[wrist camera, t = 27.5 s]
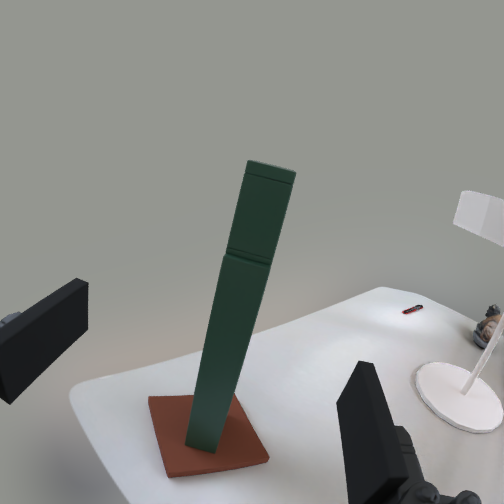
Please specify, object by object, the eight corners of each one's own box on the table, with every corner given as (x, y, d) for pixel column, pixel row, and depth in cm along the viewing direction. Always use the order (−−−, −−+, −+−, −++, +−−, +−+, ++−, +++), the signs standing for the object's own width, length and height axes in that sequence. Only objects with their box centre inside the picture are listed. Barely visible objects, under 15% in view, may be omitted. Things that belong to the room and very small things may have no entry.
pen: (399, 312, 74) (400, 310, 74) (419, 305, 83) (419, 303, 82) (405, 315, 72) (406, 313, 72) (424, 308, 81) (425, 306, 81)
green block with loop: (184, 445, 25) (246, 159, 18) (199, 405, 31) (256, 160, 24) (215, 454, 25) (296, 172, 18) (226, 413, 31) (294, 170, 23)
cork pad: (167, 477, 22) (168, 473, 22) (148, 402, 30) (148, 396, 30) (267, 462, 26) (270, 457, 26) (232, 397, 35) (233, 391, 34)
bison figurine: (489, 355, 58) (507, 319, 55) (468, 343, 63) (485, 308, 60) (490, 340, 67) (506, 309, 64) (471, 330, 71) (486, 299, 69)
